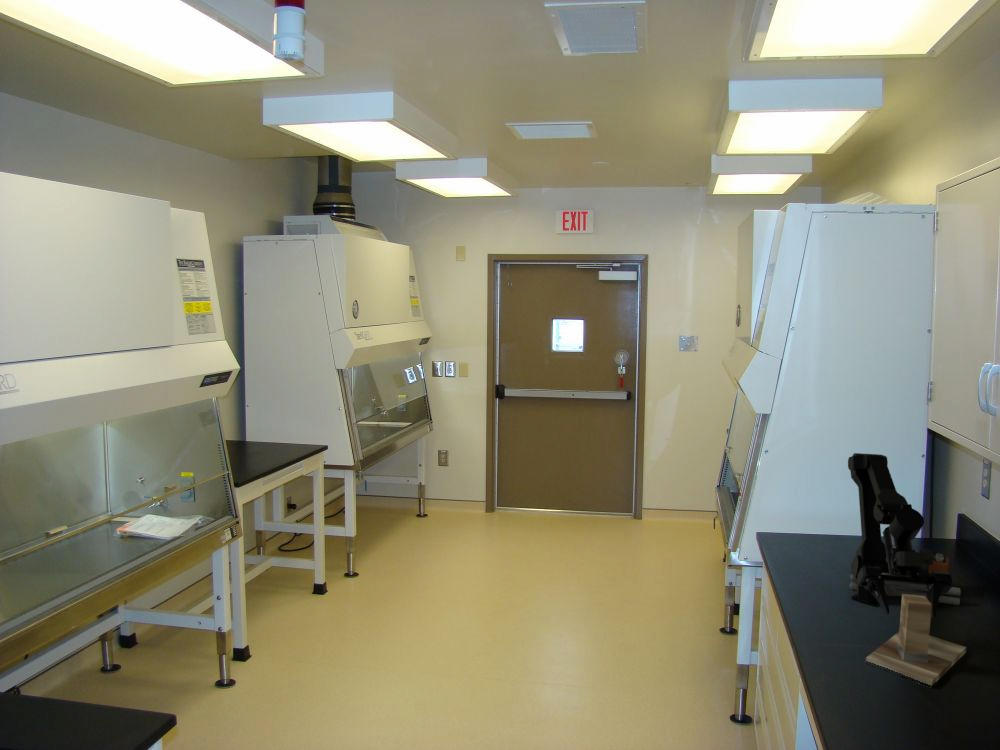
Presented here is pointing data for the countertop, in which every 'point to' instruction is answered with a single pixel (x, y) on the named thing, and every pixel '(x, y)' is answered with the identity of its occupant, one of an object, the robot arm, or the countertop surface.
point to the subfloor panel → (929, 673)
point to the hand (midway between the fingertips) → (910, 616)
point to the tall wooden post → (914, 628)
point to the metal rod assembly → (893, 591)
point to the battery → (939, 564)
